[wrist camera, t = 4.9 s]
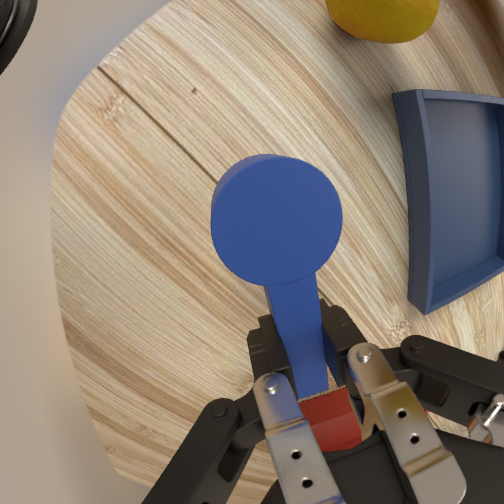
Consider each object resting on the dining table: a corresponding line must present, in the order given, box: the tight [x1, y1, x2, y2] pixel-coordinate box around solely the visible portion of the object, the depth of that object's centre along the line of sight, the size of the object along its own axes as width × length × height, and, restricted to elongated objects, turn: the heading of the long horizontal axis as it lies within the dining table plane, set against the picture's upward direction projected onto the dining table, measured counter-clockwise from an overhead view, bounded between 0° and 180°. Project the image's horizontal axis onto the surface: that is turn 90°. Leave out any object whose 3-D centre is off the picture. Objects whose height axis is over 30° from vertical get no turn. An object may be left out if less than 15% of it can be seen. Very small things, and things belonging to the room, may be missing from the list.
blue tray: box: [392, 89, 504, 315], centre depth 16 cm, size 13×16×3 cm
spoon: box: [211, 154, 343, 399], centre depth 11 cm, size 11×4×2 cm, turn 14°
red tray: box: [299, 387, 428, 452], centre depth 25 cm, size 15×13×3 cm
